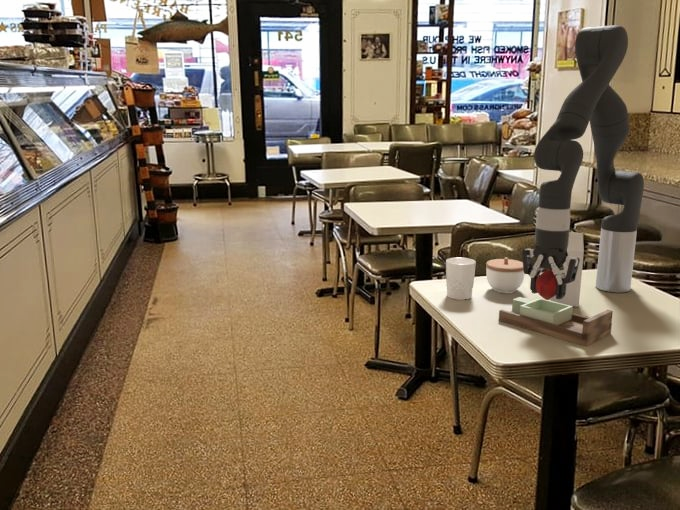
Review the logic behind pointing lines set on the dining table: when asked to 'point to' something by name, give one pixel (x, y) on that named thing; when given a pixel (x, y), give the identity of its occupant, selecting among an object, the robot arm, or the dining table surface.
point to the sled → (542, 310)
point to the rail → (566, 326)
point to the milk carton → (574, 287)
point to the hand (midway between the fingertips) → (547, 295)
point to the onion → (546, 284)
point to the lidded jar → (504, 274)
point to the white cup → (460, 277)
